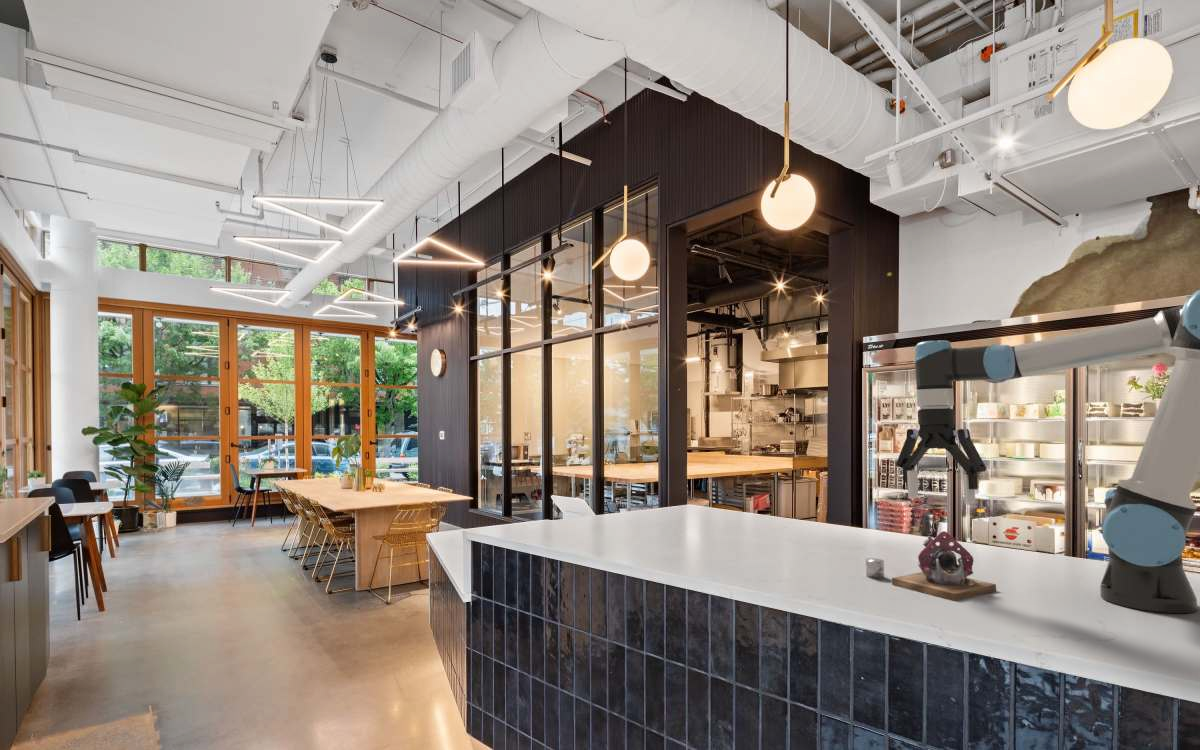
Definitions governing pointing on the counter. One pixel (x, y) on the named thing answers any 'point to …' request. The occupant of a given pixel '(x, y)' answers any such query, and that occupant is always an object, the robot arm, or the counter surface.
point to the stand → (943, 587)
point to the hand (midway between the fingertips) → (940, 501)
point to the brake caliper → (945, 561)
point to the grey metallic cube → (874, 568)
